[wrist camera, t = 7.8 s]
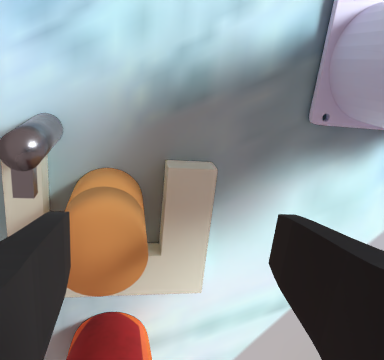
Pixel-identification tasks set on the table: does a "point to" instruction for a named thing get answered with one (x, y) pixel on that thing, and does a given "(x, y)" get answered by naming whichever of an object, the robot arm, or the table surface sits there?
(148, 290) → the beige u-shaped block
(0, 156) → the hook post
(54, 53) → the table surface
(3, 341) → the robot arm
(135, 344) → the paper cup
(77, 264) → the orange rounded cylinder
